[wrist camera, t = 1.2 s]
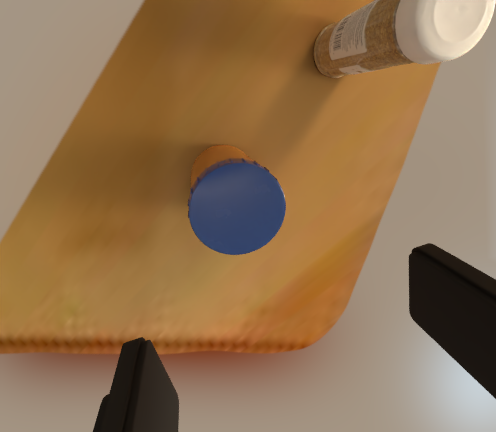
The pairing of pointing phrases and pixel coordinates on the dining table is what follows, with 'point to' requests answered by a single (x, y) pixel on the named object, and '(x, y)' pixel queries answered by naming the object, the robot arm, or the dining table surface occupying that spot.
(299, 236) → the dining table surface
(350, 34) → the sprinkles bottle
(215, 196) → the lid
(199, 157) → the jar
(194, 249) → the dining table surface
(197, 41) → the dining table surface
